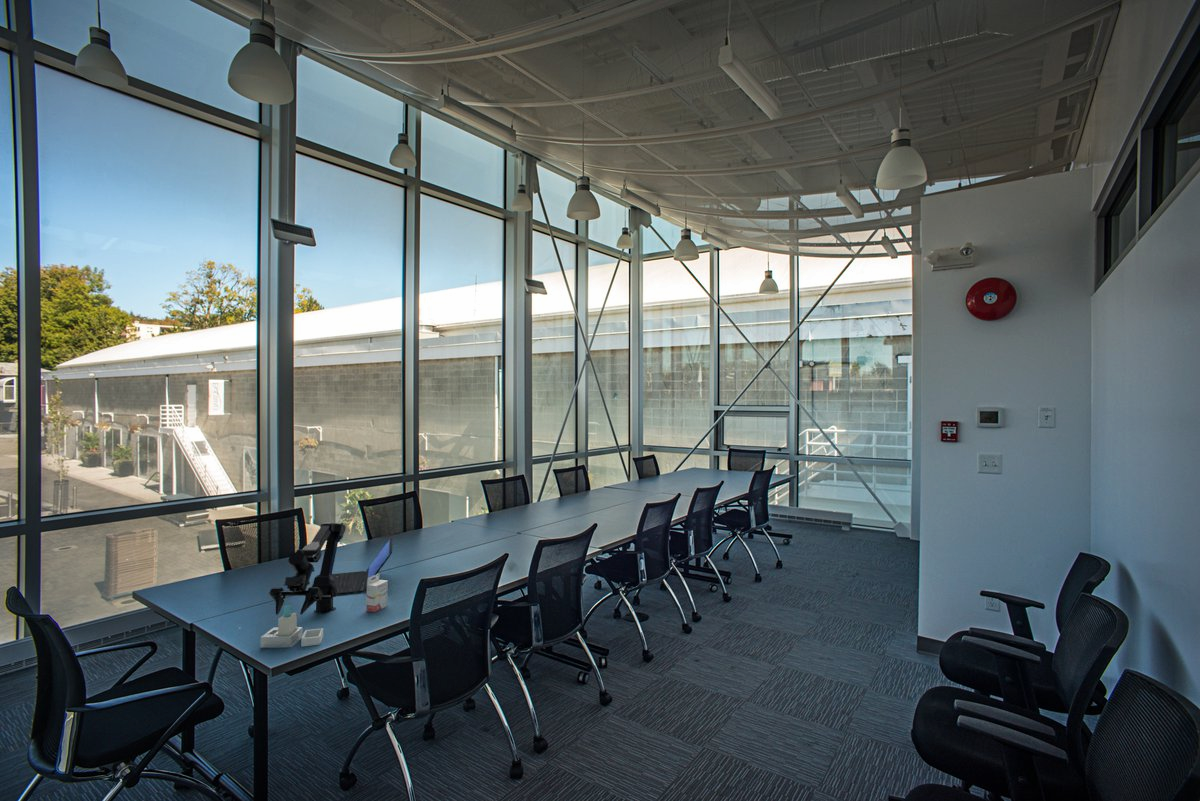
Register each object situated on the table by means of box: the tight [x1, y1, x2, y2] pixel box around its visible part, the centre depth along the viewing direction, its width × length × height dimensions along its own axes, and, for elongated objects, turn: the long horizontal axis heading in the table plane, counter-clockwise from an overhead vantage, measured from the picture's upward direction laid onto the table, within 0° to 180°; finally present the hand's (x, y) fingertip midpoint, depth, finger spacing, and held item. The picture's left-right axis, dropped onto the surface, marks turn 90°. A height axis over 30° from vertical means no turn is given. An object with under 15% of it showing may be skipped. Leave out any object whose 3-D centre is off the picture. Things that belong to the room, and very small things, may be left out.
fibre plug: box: [277, 604, 298, 636], centre depth 220 cm, size 4×6×14 cm, turn 3°
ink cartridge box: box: [365, 572, 389, 613], centre depth 256 cm, size 9×5×15 cm, turn 163°
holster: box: [300, 627, 324, 647], centre depth 221 cm, size 6×8×3 cm
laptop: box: [311, 536, 393, 596], centre depth 289 cm, size 33×38×19 cm
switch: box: [260, 626, 304, 649], centre depth 220 cm, size 11×9×4 cm
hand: (288, 614), depth 221 cm, fingers open, 9 cm apart
